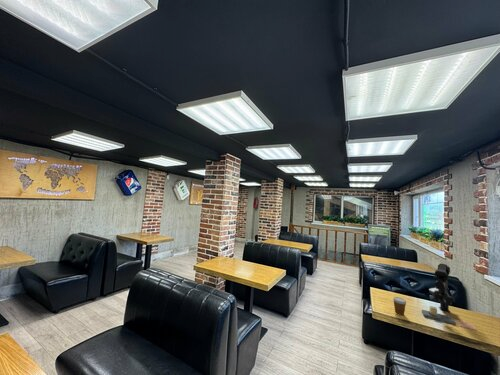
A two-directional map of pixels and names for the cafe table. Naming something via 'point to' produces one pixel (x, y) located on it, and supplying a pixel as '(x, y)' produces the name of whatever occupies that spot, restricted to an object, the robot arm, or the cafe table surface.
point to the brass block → (433, 311)
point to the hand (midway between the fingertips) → (441, 304)
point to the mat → (465, 325)
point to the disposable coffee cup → (399, 305)
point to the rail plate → (439, 317)
